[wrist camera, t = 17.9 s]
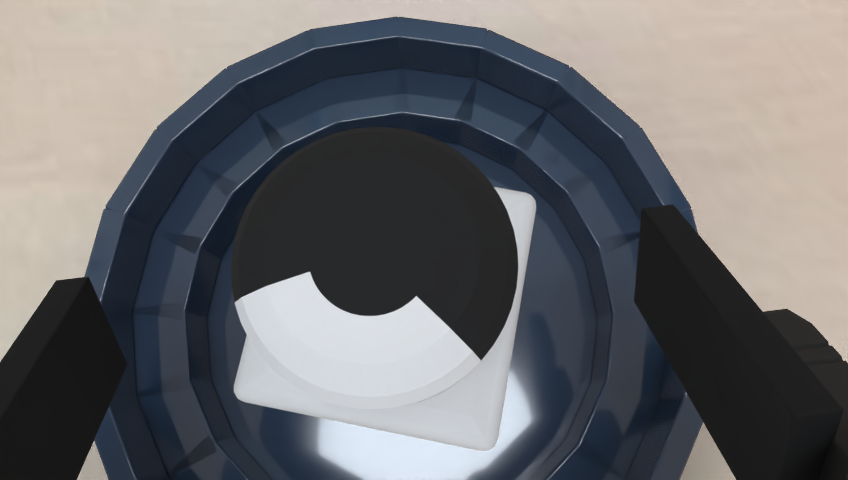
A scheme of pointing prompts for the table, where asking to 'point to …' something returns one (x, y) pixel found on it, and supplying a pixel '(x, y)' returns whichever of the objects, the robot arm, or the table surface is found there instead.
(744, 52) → the table surface
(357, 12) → the table surface
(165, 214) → the bowl
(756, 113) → the table surface
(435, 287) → the medicine bottle
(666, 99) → the table surface
